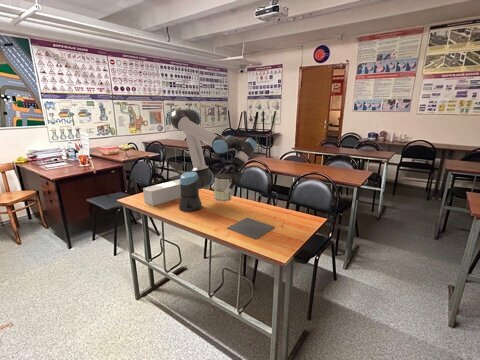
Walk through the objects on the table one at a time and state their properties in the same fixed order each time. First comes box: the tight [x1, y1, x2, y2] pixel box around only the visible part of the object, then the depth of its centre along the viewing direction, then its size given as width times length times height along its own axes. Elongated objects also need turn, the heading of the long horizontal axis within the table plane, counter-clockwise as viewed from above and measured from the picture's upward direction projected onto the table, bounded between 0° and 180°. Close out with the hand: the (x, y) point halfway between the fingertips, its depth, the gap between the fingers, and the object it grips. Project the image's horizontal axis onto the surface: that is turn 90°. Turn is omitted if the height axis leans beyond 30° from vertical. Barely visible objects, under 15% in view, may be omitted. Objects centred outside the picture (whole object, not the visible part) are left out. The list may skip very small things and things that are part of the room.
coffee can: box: [213, 172, 233, 202], centre depth 151 cm, size 10×10×14 cm
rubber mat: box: [226, 217, 276, 240], centre depth 148 cm, size 20×18×1 cm
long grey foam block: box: [142, 178, 181, 207], centre depth 194 cm, size 32×11×11 cm, turn 140°
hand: (219, 190), depth 149 cm, fingers closed on coffee can, 10 cm apart
